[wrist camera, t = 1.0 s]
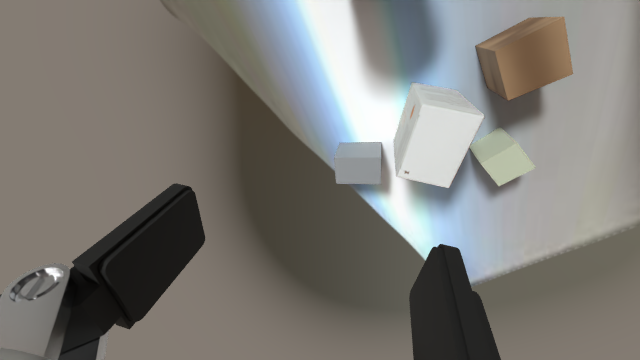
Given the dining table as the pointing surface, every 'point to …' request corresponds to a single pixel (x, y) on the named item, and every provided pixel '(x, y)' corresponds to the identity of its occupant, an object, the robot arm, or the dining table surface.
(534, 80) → the walnut block
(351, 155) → the slate block
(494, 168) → the sage block
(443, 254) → the robot arm
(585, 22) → the dining table surface
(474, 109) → the small box
